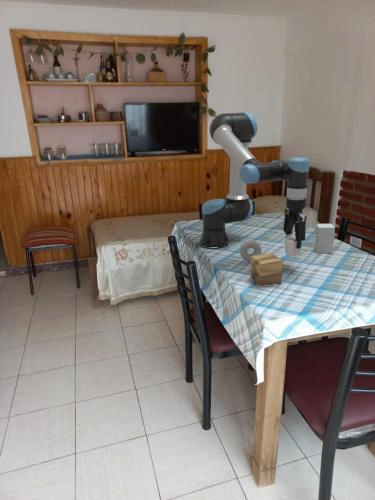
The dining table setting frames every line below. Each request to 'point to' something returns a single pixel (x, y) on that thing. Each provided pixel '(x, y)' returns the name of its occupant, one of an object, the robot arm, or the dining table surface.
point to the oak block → (266, 264)
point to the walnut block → (266, 278)
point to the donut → (246, 246)
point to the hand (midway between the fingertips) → (292, 252)
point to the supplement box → (324, 238)
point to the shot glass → (289, 244)
